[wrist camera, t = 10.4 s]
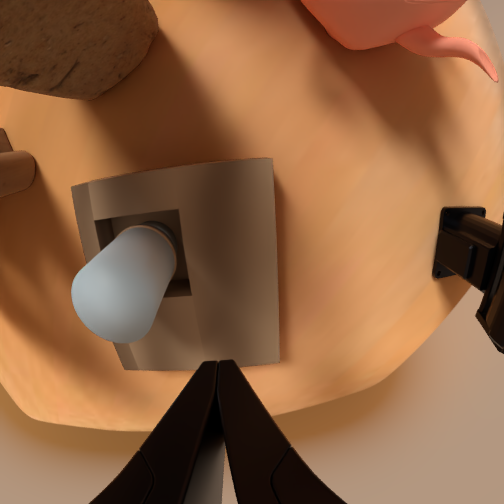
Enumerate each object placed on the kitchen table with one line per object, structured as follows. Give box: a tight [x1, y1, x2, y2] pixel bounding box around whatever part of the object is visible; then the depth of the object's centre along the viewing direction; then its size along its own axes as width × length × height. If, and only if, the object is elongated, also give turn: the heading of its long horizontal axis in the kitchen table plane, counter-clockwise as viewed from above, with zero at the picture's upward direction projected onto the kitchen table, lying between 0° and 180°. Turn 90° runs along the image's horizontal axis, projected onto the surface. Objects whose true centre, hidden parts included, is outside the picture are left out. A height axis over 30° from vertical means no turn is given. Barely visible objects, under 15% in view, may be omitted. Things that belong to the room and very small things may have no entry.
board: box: [71, 158, 280, 371], centre depth 18 cm, size 12×14×3 cm
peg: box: [71, 221, 178, 343], centre depth 14 cm, size 4×4×8 cm
